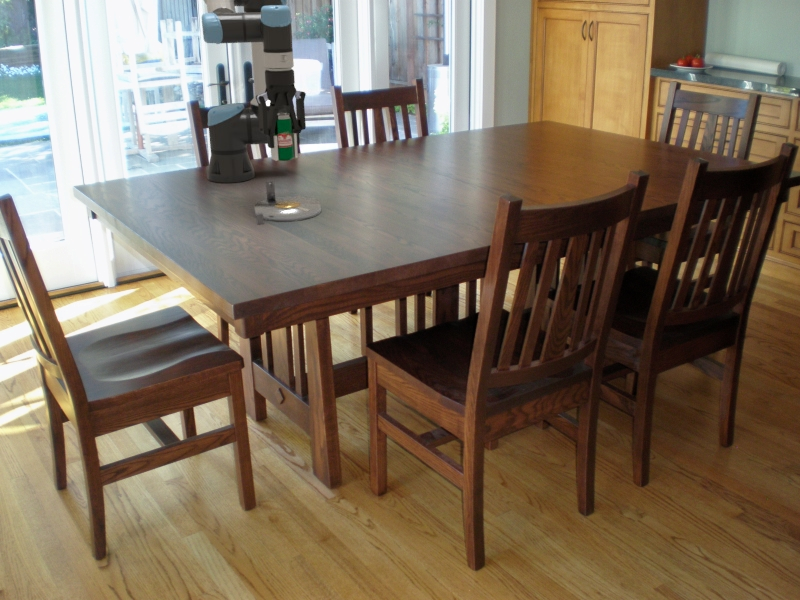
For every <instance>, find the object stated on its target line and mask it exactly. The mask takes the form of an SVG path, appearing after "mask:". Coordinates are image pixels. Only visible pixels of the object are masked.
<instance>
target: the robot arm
mask: <svg viewBox="0 0 800 600" xmlns="http://www.w3.org/2000/svg"><path fill="white" fill-rule="evenodd" d="M203 2H204V3H205V4H206V8H207V13H203V14H202V15H201V25H202V37H203V41H204V42H205V43H206V44H216V45H221V44H240V43H241V44H243V43H250V44H251V46H250V47H251V57H252V71H253V72H252V75H253V76H252V77H253V87H254V97H253V98H252V99H251V100H250V107H245V105H244V103H241V102H233V103H227V104H222V105H217V106H214V107H212V108H210V109H209V110H208V112H207V126H208V135H209V145H210V146H209V147H210V159H209V163H208V167H207V173H206V175H207V179H208V181H210V182H213V183H221V184H224V183H225V184H229V183H231V184H233V183H241V182H246V181H250V180H252V179H254V178H255V176H256V175H255V169H254V166H253V164H252V162H251V159H250V156H249V154H248V146H249V145H265V144H266V145H267V146H268V148H270V155H271V156H270V157H271V160H273V161H275V162H277V161H279V158H278V142H277V136H276V135H274V133H275V127H276V121H277V114H278V113H289V114H290V116H291V117H292V128H293V145H294V158H293V159H298V158H299V152H298V145H300V134H301V133H302V131H303V130H306V127H307V125H306V113H305V112H306V111H305V98H306V94H307V93H306V92H305V91H301V90H297V88H296V86H295V83H296V82H295V81H296V80H295V71H294V69H292V68H294V50H293V34H292V33H293V31H292V27H293V26H292V21H293V18H292V16H291V15H292V14H291V8H290V6H288V5H287V3H288V2H287V0H203ZM235 7H243V12H237V11H236V8H235ZM294 98H295V106H294V103H293V99H294ZM295 109H296V111H295Z"/></svg>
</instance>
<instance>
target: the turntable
mask: <svg viewBox="0 0 800 600" xmlns="http://www.w3.org/2000/svg"><path fill="white" fill-rule="evenodd" d="M275 187H276V186H275V182H274V181H265V189H266V190H265V191H266V199H263V200H261V201H258V202H257V203H255V205H254V214H255V216H256V213H263V221H264V220H265V221H270V222H298V221H304V220H309V219H311V218H315V217H316V216H319V215H320V213H322V212H321V211H322V208H321V207H322V204H321V202H320V201H319V200H318V199H315V198H311V197H306V196H278V197H276V188H275Z"/></svg>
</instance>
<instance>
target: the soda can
mask: <svg viewBox="0 0 800 600" xmlns="http://www.w3.org/2000/svg"><path fill="white" fill-rule="evenodd" d="M274 135H276V136H277V142H278V158H279V160H278V161H280V162H288V161H292V160H293V159H295V158H294V145H293V128H292V117H291V116H290V114H289V113H278V114H277V121H276V127H275V133H274Z"/></svg>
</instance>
